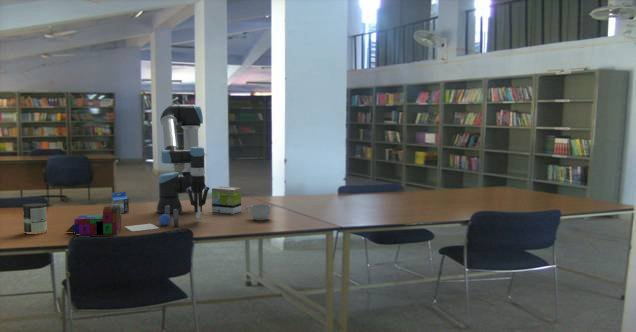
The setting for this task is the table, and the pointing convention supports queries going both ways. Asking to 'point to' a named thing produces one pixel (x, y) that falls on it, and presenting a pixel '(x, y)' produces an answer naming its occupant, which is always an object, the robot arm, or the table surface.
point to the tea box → (226, 200)
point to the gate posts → (175, 215)
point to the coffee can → (35, 217)
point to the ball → (164, 219)
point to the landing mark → (141, 227)
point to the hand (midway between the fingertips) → (198, 217)
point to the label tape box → (121, 201)
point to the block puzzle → (99, 222)
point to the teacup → (259, 211)
